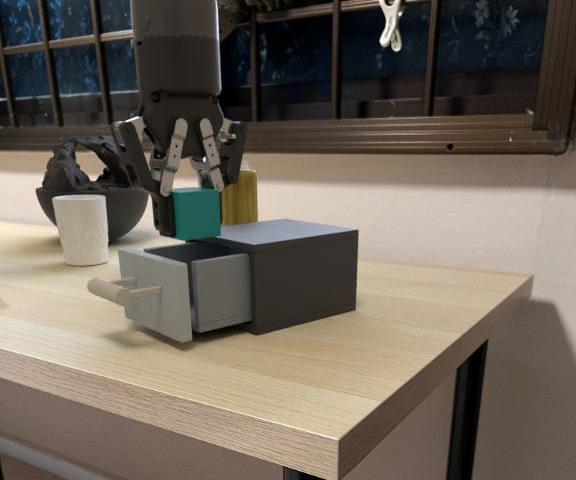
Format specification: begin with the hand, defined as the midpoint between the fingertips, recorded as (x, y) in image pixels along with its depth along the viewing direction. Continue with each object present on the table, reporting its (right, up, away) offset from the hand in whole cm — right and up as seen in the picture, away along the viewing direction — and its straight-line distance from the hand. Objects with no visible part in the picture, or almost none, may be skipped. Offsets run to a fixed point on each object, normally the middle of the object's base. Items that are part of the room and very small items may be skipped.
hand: (189, 232), depth 60 cm
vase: (+3, 0, +27) cm, 27 cm away
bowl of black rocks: (-26, +12, +55) cm, 62 cm away
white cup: (-22, +4, +37) cm, 44 cm away
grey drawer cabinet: (+8, -6, +10) cm, 14 cm away
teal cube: (0, 0, 0) cm, 0 cm away
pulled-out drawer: (-1, -9, +3) cm, 9 cm away
